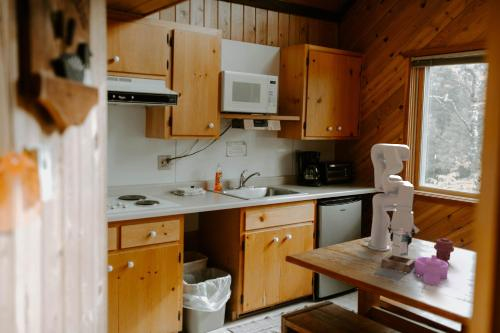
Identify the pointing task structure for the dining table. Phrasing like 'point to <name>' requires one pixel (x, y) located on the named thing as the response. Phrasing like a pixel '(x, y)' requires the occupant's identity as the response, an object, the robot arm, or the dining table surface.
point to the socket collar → (398, 263)
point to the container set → (431, 269)
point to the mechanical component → (443, 249)
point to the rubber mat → (390, 273)
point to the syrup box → (400, 243)
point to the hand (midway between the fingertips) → (400, 242)
